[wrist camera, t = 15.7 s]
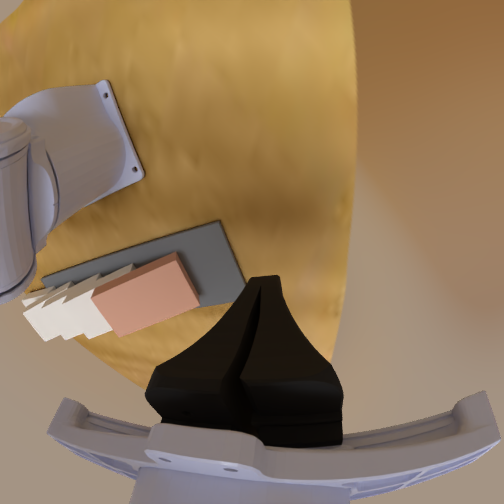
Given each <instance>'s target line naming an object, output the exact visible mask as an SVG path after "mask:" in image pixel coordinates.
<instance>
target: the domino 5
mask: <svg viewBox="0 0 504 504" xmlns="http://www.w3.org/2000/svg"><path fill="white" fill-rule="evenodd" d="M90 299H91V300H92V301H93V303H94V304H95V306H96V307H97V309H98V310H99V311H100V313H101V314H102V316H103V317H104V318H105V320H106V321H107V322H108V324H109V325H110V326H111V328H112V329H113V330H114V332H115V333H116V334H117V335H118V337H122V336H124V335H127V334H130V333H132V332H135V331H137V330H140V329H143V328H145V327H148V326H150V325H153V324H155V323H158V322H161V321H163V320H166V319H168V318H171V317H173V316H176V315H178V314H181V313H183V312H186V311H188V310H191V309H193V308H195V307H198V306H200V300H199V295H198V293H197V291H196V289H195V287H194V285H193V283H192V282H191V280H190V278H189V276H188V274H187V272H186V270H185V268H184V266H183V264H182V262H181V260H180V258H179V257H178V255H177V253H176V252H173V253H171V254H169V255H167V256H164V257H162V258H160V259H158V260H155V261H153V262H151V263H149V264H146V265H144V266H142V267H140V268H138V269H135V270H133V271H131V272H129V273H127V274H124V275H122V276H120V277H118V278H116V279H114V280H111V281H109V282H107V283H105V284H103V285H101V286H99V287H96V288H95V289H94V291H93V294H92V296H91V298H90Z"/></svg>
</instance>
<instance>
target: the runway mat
mask: <svg viewBox="0 0 504 504" xmlns="http://www.w3.org/2000/svg"><path fill="white" fill-rule="evenodd" d="M173 252H176V253H177V255H178V257H179V258H180V260H181V262H182V264H183V266H184V268H185V270H186V272H187V274H188V276H189V278H190V280H191V282H192V283H193V285H194V287H195V289H196V291H197V293H198V295H199V300H200V306H198V307H195V308H200V307H206V306H212V305H218V304H224V303H229V302H235V300H236V299H237V298H238V296H239V295H240V293H241V292H242V290H243V289H244V287H245V286H246V283H245V280H244V278H243V276H242V273H241V271H240V269H239V266H238V264H237V261H236V259H235V257H234V254H233V252H232V249H231V247H230V245H229V242H228V240H227V237H226V235H225V233H224V230H223V228H222V225H221V223H220V221H216V222H212V223H209V224H205V225H202V226H199V227H195V228H192V229H188V230H185V231H182V232H178V233H175V234H172V235H168V236H165V237H162V238H158V239H155V240H152V241H149V242H146V243H142V244H139V245H136V246H133V247H130V248H127V249H124V250H121V251H118V252H114V253H111V254H108V255H105V256H102V257H99V258H96V259H94V260H91V261H88V262H85V263H82V264H79V265H76V266H73V267H70V268H68V269H65V270H62V271H59V272H56V273H54V274H51V275H48V276H45V277H43V278H41V281H42V282H43V284H44V285H45V287H46V288H49V287H52V286H55V288H56V289H57V288H59V287H61V286H63V285H64V284H66V283H68V282H70V281H72V282H73V283H74V285H76V284H78V283H80V282H82V281H84V280H86V279H88V278H90V277H92V276H94V275H96V274H98V273H100V274H101V276H102V277H105V276H107V275H109V274H111V273H113V272H115V271H117V270H119V269H121V268H123V267H125V266H128V265H130V264H132V263H133V264H134V266H135V268H136V269H138V268H140V267H142V266H144V265H146V264H149V263H151V262H153V261H155V260H158V259H160V258H162V257H164V256H167V255H169V254H171V253H173ZM193 309H194V308H193Z"/></svg>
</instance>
